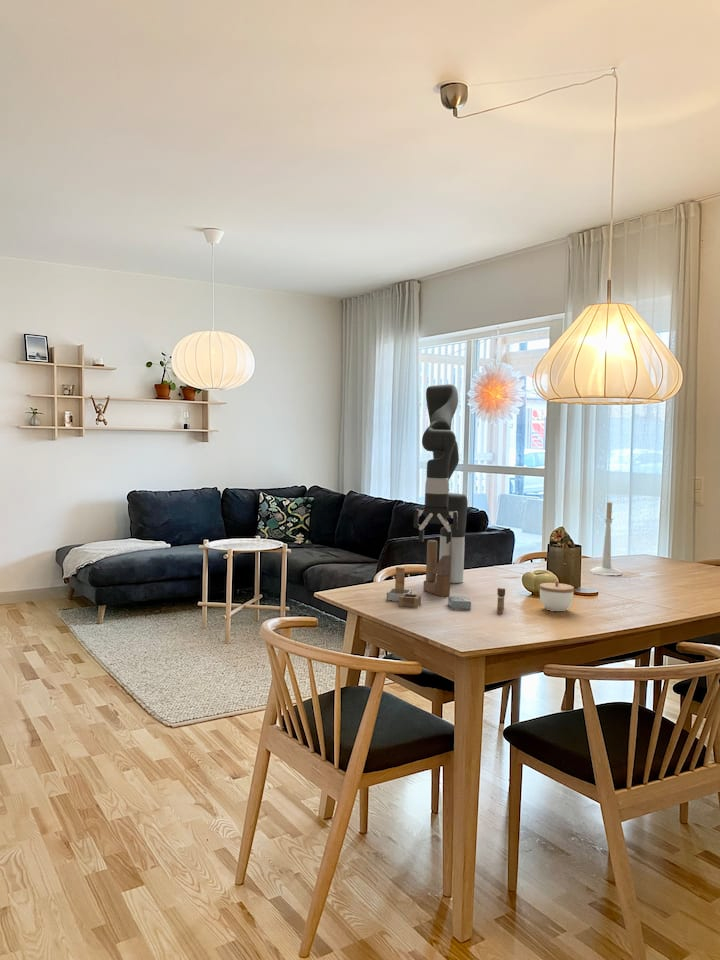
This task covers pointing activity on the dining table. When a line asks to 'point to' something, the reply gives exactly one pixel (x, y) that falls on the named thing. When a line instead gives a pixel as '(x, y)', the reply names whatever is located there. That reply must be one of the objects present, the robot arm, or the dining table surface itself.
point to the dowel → (399, 580)
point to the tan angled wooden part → (437, 571)
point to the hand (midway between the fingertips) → (434, 542)
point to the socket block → (410, 600)
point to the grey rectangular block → (459, 603)
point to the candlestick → (607, 546)
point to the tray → (394, 596)
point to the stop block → (500, 600)
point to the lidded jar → (556, 596)
